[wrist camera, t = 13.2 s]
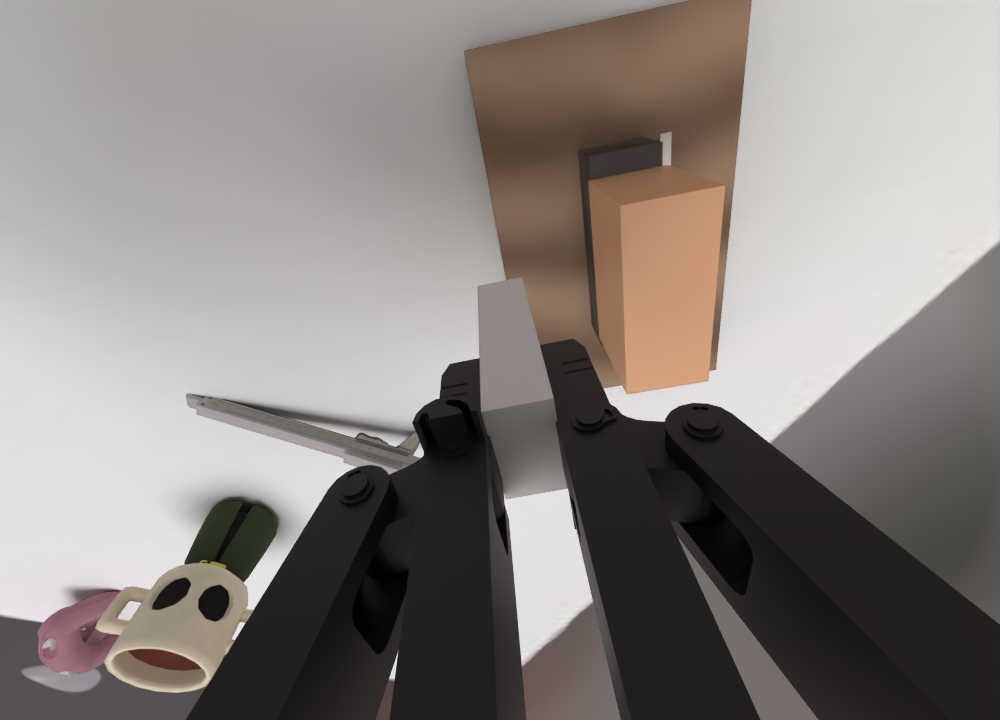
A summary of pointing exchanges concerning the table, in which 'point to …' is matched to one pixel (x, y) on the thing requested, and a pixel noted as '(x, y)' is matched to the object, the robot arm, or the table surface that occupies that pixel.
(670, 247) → the block
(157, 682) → the character mug
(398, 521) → the robot arm
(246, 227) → the table surface
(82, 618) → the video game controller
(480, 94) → the board
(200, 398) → the caliper
